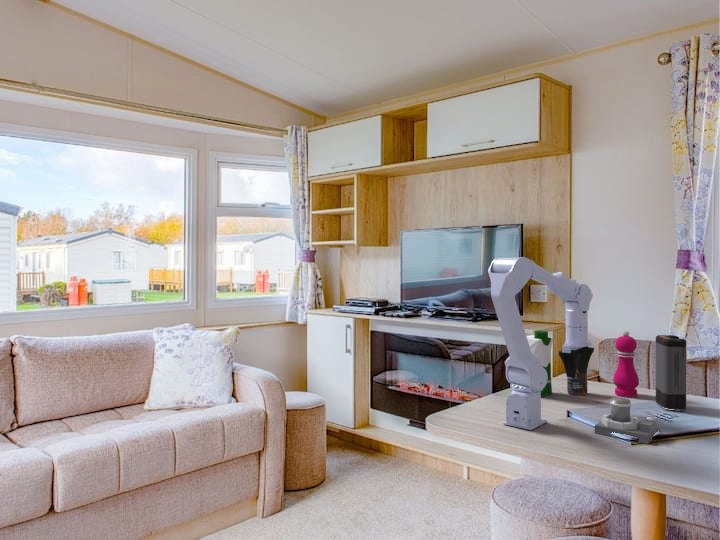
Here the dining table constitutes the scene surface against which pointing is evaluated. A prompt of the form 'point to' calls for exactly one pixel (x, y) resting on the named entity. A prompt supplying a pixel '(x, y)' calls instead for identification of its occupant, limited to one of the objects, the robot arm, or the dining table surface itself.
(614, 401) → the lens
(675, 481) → the dining table surface
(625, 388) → the pepper mill
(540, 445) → the dining table surface
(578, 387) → the supplement bottle
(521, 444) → the dining table surface
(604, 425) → the grey base plate
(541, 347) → the milk carton
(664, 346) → the electronic device
